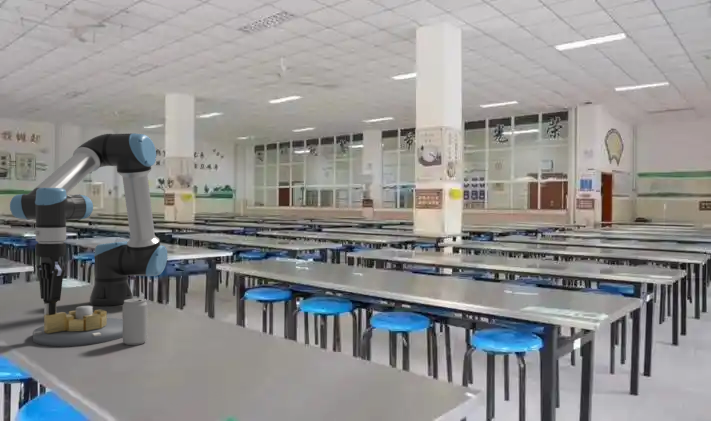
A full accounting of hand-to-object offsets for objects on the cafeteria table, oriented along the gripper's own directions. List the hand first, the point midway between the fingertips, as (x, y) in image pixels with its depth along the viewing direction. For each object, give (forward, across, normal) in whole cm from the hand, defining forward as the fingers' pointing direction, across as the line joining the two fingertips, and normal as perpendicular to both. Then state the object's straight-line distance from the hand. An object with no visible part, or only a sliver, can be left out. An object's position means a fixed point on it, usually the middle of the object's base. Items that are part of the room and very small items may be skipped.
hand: (50, 325), depth 153 cm
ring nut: (+2, +2, +6) cm, 7 cm away
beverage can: (+4, +22, +14) cm, 26 cm away
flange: (+4, +2, +9) cm, 10 cm away
